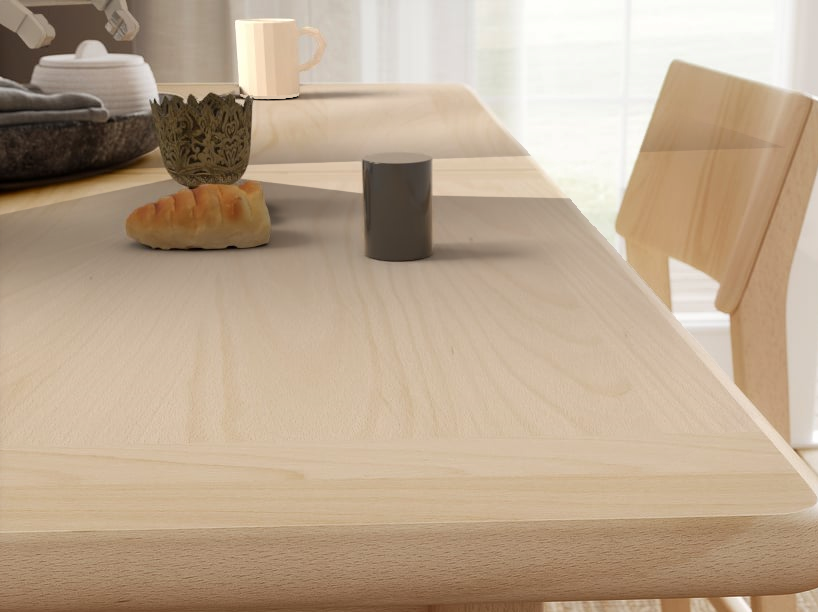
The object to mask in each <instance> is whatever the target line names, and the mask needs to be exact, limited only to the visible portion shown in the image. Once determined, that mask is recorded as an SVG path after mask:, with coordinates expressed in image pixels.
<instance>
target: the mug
mask: <svg viewBox="0 0 818 612" xmlns="http://www.w3.org/2000/svg"><path fill="white" fill-rule="evenodd" d="M234 25H235V26H234V27H235V41H236V54H237V55H236V56H237V59H236V60H237V69H238V86H239V95H240V94H243V95H253V96H279V95H292V94H298V93H300V94H301V83H300V82H301V81H300V80H301V79H300V73H302V72H306V71H309V70H310V69H311V68H313V67H315V66H317V65H319V63H320V62H321V60H322V56H323V54H324V51H325V50H326V47H327V45H328V43H327V41H326V39H325V37H324V36H323V34H322V33H321V31H320V30H319V29H317V28H315V27H312V26H304V27H301V28H298V21H297V20H296V19H293V18H241V19H235V21H234ZM303 35H308V36H310V37H311V36H312V37H314V39H315V41H316V42H317V44H318V45H317V48H316V51H315V53H314V55H313V57H312V58H311V59H309V60H308V61H307V62H305V63H302V64H300V62H299V59H300V58H299V41H298V40H299V39H298V37H300V36H303Z"/></svg>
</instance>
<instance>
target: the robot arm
mask: <svg viewBox="0 0 818 612" xmlns="http://www.w3.org/2000/svg"><path fill="white" fill-rule="evenodd" d="M77 5H93V6H94V7H95V8H96V10H98V11H99V12H102V11H103V12H104V13H105V17H106V19H107V22H106V23H105V24H104V29H106V31H107V32H108V33H109V34H110V35H112V38H113V39H114V40H115V41H116V42H129V41H133V40H134V39H135V37H136V36H137V34H138V33H139V31H140V27H141V26H140V23H139V22H138V21H137V19H136V18H135V17H134V16H133V15H132V13H131V12H130V11H129V7H128V4H127V0H0V25H2V26H3V27H5V28H7V29H8V30H10V31H12V32H13V33H16V34H17V35H18V36H19V37H20V39H21V40H22V42H24V43H25V45H26V46H27V47H28V48H29V49H32V50H36V49H45V48H49V46H50V45H51V43H52V42H53V41H54V39H55V38H56V30H55V28H54V26H53V25H52V24H50V23H49V21H48V19H47V18H46V17H45V16H44V15H43V14H42V13H34V12H33V11H31V10H30V9H29V8H30V7H51V6H77Z"/></svg>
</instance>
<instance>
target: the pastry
mask: <svg viewBox="0 0 818 612" xmlns="http://www.w3.org/2000/svg"><path fill="white" fill-rule="evenodd" d="M125 233H126V236H128V237H129V238H131V239H132V240H134V241H136V242H138V243H139V244H142V245H146V246H149V247H151V248H152V249H153V250H155V249H156V248H159V249H161V250H164V251H169V250H170V249H183V250H189V249H199V248H200V249H201V248H202V249H203V250H213V249H215V250H217V249H218V250H219V249H226V248H227V247H229V246H230V247H231V246H234V247H236V248H238V249H245V248H255V247H257V246H261V245H265V244H269V241H270V238H271V233H272V224H271V217H270V213H269V208H268V207H267V205H266V200H265V196H264V189H263V187H262V185H261V183H260V182H259V181H258V180H247V181H245V182H244V183H242V184H231V185H222V184H216V185H215V184H202V185H200V186H199V187H197V188H195V189H186V188H183V189H180V190H179V191H178V192H175V193H173V194H170V195H167V196H164V197H161V198H158V200H157V201H156V202H148V203H146V204H144V205H142V206H139V207H138V208H136V209H134V210H133V211H131V213H130V214H129V216H128V217H127V218H126V219H125Z"/></svg>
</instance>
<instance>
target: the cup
mask: <svg viewBox="0 0 818 612" xmlns="http://www.w3.org/2000/svg"><path fill="white" fill-rule="evenodd" d="M253 104H254V100H253V97H252V98H250V96H249V95H248V96H247V97H246V98H245V99H244V102H243V104H241V103H238V102H237V101H236V96H235V95H233V94H232V93H228V94H227V96H226V97H225V98H224V97H222V96H221V95H219V94H217V93H214V92H210V91H209V92H208V94H206V96H204V97H203V98H202V99H201V100H199V99H198V97H196V96H195V95H193V94H192V93H189V95H188V96H187V99H186V102H184V100H183V99H182V98H181V97H180V96H178V95H173V96H172V97H171V98H170V99H169V97H168V96H167V95H164V96H163V99H162V101H161V104H159V103H158V101H157V98H156V97H153V100H152V99H149V105H150V109H151V113H152V119H153V124H154V130H155V134H156V139H157V144H158V148H159V152H160V155H161V159H162V163H163V165H164V167H165V169H166V172H167V173H168V174H169V177H171V178H172V179H173V180H174V181H175V182H176V183H178V184H180V185H181V186H184V187H186V188H185V189H195V188H197V187H199V186H200V185H202V184H215V185H216V184H222V185H234V184H235V183H237V182H238V181H239V180H240V179H241V178H242V177H243V176H244V174H245V173H246V172H247V171H246V170H247V168H248V166H249V161H250V156H251V146H252V129H253V127H252V126H253Z"/></svg>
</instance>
